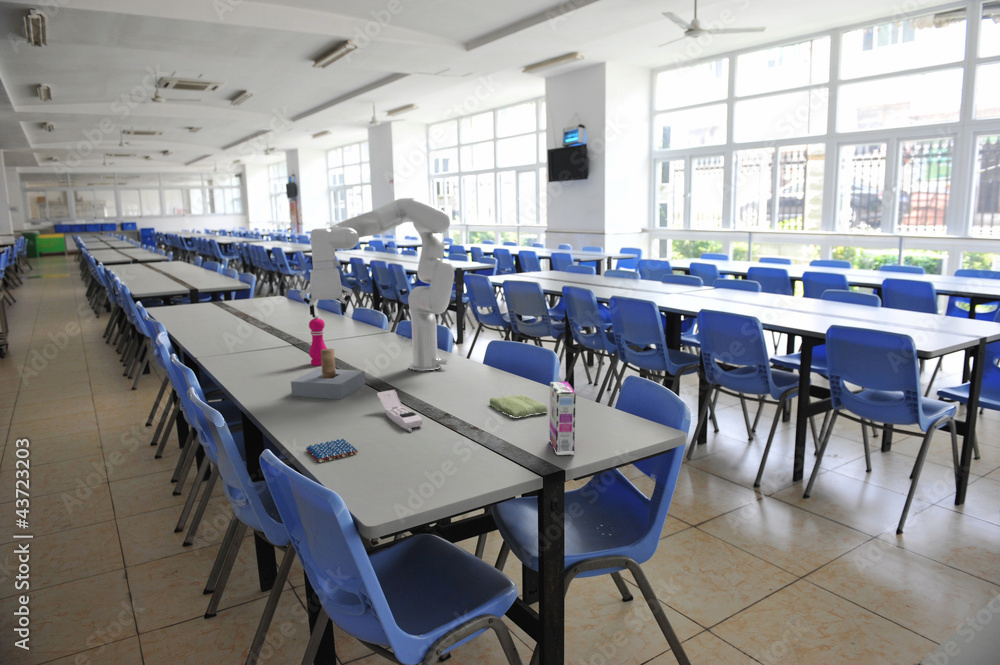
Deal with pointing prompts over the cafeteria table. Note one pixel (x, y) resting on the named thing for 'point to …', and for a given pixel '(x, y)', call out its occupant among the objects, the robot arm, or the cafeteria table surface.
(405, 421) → the mobile phone
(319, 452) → the woven mat
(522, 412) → the washcloth
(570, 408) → the candy bar box
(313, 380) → the socket block
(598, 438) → the cafeteria table surface
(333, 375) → the peg
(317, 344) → the pepper mill
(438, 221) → the robot arm
